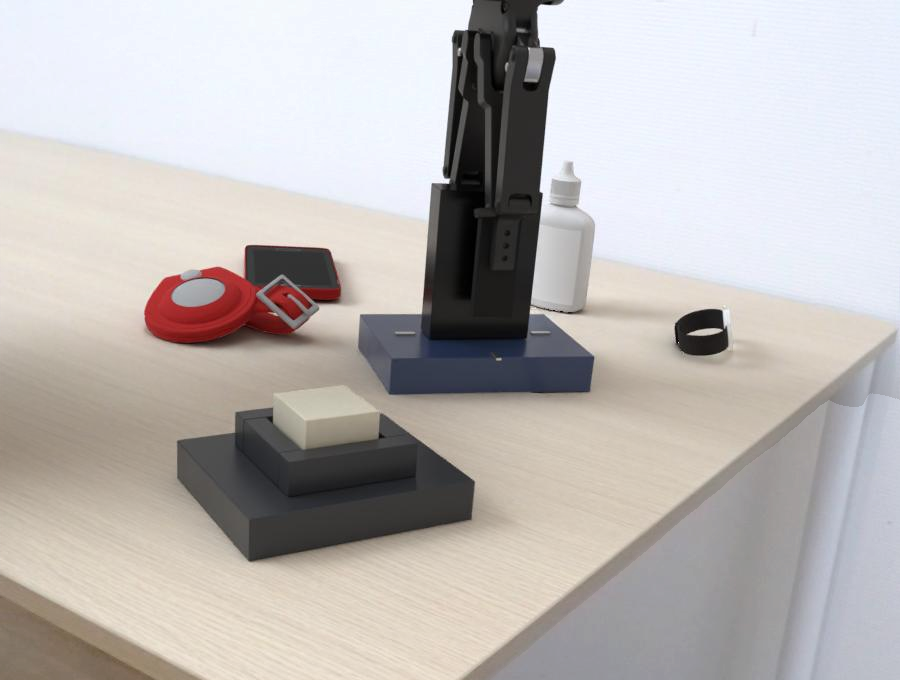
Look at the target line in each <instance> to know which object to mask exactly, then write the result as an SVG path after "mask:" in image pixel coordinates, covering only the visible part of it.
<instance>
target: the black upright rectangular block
mask: <svg viewBox="0 0 900 680" xmlns="http://www.w3.org/2000/svg"><path fill="white" fill-rule="evenodd" d="M512 195H514V194H512ZM543 196H544V193H543V192H542V191H540V194H539V207H538V212H537V214H536V215H527V216H526V218H525V219H524V220H522V227H521V236H520V246H519V255H518V265H517V275H516V284H515V294H514V303H513V313H512V317H472V316H471V315H470V305H471V294H472V283H473V272H474V260H475V249H476V238H477V227H478V219H477V218H475V216H474V209H477V208H485V185H477V184H449V183H447V182H445V183H443V182H432V183H431V186H430V198H429V199H430V200H429V212H428V225H427V226H428V227H427V241H426V253H425V254H426V255H425V268H424V280H423V292H422V293H423V294H422V307H421V309H422V310H421V314H422V319H421V329H422V331H423V332H424V333H425V334H426V335H427V336H428V338H429V339H526V338H527V334H528V325H529V316H530V314H531V306H532V305H531V298H532V289H533V280H534V271H535V262H536V252H537V243H538V234H539V225H540V216H541V207H542V206H543Z"/></svg>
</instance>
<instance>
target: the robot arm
mask: <svg viewBox="0 0 900 680" xmlns="http://www.w3.org/2000/svg"><path fill="white" fill-rule="evenodd" d="M564 1H565V0H472V5H471V10H470V15H469V21H468V23H467V29H465V30H464V29H463V30H460V29H455V30H454V31H453V33H452V36H451V43H452V44H451V45H452V47H451V50H452V55H451V56H452V57H451V58H452V59H451V60H452V61H451V63H452V64H451V65H452V66H451V67H452V68H451V79H450V89H449V90H450V91H449V101H448V110H447V111H448V112H447V122H446V133H445V134H446V135H445V145H444V156H443V166H442V176H443V178H444V179H445V180H448V184H477V185H485V208H477V209H474V216H475V218H477V219H478V227H477V238H476V249H475V260H474V272H473V283H472V294H471V305H470V315H471V316H472V317H512V313H513V303H514V294H515V284H516V275H517V265H518V255H519V246H520V236H521V227H522V220H524V219H525V218H526V216H527V215H536V214H537V212H538V207H539V194H540V192H541V182H542V171H543V170H542V169H543V161H544V150H545V148H544V147H545V140H546V139H545V138H546V127H547V117H548V116H547V115H548V105H549V104H548V103H549V93H550V87H551V82H552V78H553V73H554V69H555V64H556V60H557V56H556V54H557V53H556V50H555V48H554V47H547V46H546V47H545V46H541V41H540V37H539V25H538V24H539V23H538V22H539V21H538V19H539V18H538V17H539V15H538V9H539V7H540V6H558V5H559V6H560V5H561V4H563V2H564ZM512 194H514V195H512Z"/></svg>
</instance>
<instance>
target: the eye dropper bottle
mask: <svg viewBox="0 0 900 680" xmlns="http://www.w3.org/2000/svg"><path fill="white" fill-rule="evenodd" d="M581 187H582V180H581V178H579V177H578V176H576V175H575V172H574V161H572V160H564V161H563V163H562V168H561V170H560V172H559V173H558V174H556V175H554V176H552V177H551V181H550V189H549V199H548V202H550V203H549V204H544V205H542V207H541V216H540V225H539V234H538V243H537V252H536V262H535V271H534V280H533V289H532V298H531V306H534V307H537V308H541V309H544V308H545V310H548V309H549V311H553V310H555V311H554V312H560V311H563V312H562V313H568V312H572V313H575V312H578V311H581V310H583V309H584V308H585V307H586V305H587V298H588V292H589V282H590V276H591V268H592V259H593V250H594V242H595V234H596V223H595V220H594V218H593V217H592V216H591V215H589V213H587V212H586V211H584V210H583V209H581V208H579V206H578V205H579V204H580V196H581V195H580V194H581Z"/></svg>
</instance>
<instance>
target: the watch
mask: <svg viewBox="0 0 900 680" xmlns="http://www.w3.org/2000/svg"><path fill="white" fill-rule="evenodd" d="M721 307H722V309H719V308H704V309H699V310H695V311H691V312H689V313H687V314H684V315H683V316H681V317H680V318H679V319H678V320H677V321H676V322H674V328H673V329H674V337H675V346H676V345H678V348H680V349H681V350H680V349H679V350H680V352H681V351H683V352H684V353H683V352H682V353H683V354H686V355H688V356H692V357H693V356H694V357H706V356H714V355H717V354H720V353H722V352H725V351H727V352H730V351H732V350H734V349H735V348H734V339H733V328H732V318H731V311H730V308H727V305H726V304H723V305H722V306H721ZM710 329H711V330H712V329H716V330H721V331H718V332H716V333H712V334H705V335H693V334H691V333H694V332H697V331H703V330H710ZM678 342H679V343H678Z"/></svg>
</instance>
